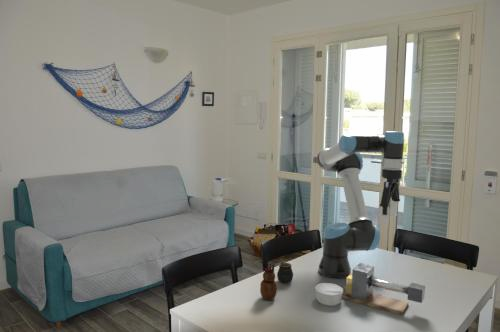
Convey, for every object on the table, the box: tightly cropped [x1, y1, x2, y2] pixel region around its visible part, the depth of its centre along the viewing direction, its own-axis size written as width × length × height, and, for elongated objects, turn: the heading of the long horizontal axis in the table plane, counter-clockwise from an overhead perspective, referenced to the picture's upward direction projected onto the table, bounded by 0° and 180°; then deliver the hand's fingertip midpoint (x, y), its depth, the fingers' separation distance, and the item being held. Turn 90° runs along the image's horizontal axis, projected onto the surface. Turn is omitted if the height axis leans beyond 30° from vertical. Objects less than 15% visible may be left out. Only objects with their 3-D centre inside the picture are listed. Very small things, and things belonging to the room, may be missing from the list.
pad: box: [342, 288, 351, 297], centre depth 164 cm, size 5×9×1 cm, turn 146°
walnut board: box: [341, 285, 409, 316], centre depth 159 cm, size 26×10×1 cm, turn 56°
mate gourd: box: [276, 257, 294, 285], centre depth 176 cm, size 7×8×10 cm
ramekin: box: [314, 282, 343, 307], centre depth 158 cm, size 11×11×5 cm
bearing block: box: [351, 262, 375, 301], centre depth 160 cm, size 6×9×12 cm, turn 146°
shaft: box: [368, 277, 426, 304], centre depth 154 cm, size 25×5×5 cm, turn 56°
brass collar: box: [345, 272, 352, 296], centre depth 163 cm, size 2×7×7 cm, turn 146°
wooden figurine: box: [259, 262, 278, 301], centre depth 159 cm, size 7×6×15 cm
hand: (389, 219), depth 164 cm, fingers open, 13 cm apart
